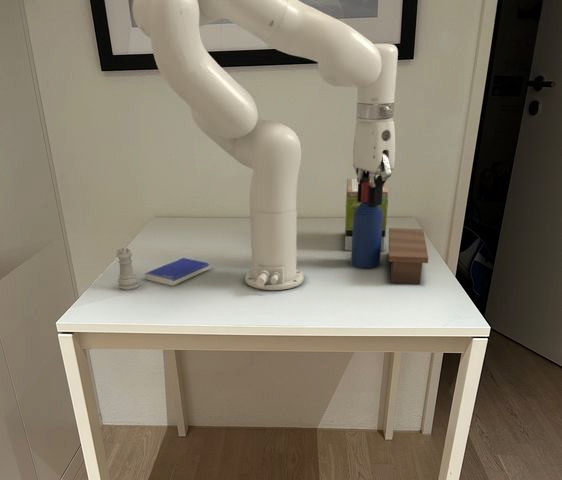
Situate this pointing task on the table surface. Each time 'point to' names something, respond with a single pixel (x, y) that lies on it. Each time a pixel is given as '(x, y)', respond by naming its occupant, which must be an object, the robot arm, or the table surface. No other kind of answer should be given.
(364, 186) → the cap
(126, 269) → the rook chess piece
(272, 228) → the robot arm
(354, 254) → the bottle
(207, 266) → the blue book
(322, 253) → the table surface
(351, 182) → the tea box
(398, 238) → the brown wooden box
